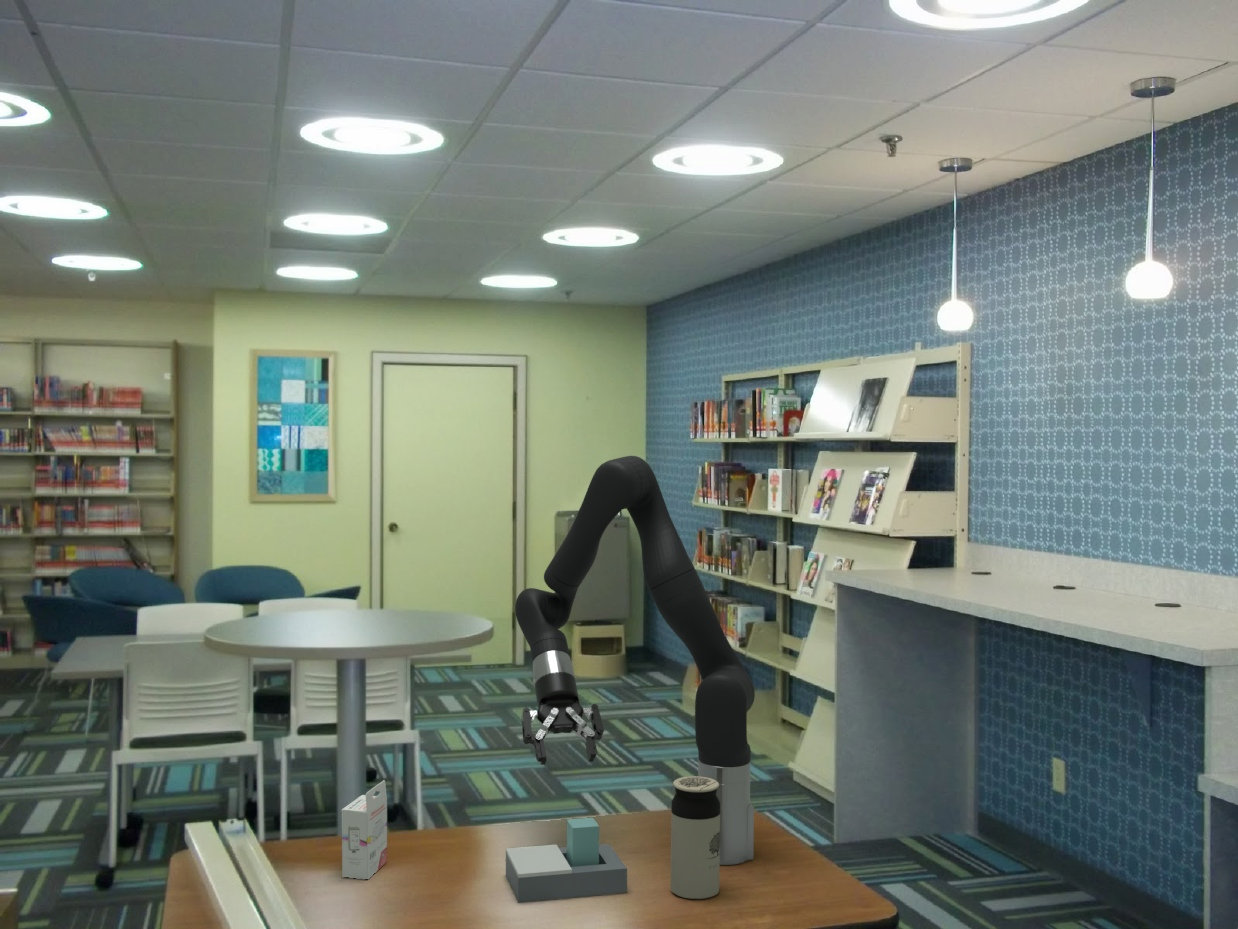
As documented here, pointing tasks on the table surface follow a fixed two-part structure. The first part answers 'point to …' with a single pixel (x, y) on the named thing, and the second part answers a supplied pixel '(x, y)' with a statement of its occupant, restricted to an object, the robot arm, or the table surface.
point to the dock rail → (562, 874)
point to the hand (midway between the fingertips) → (568, 761)
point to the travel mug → (695, 838)
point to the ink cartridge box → (365, 834)
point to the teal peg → (582, 842)
